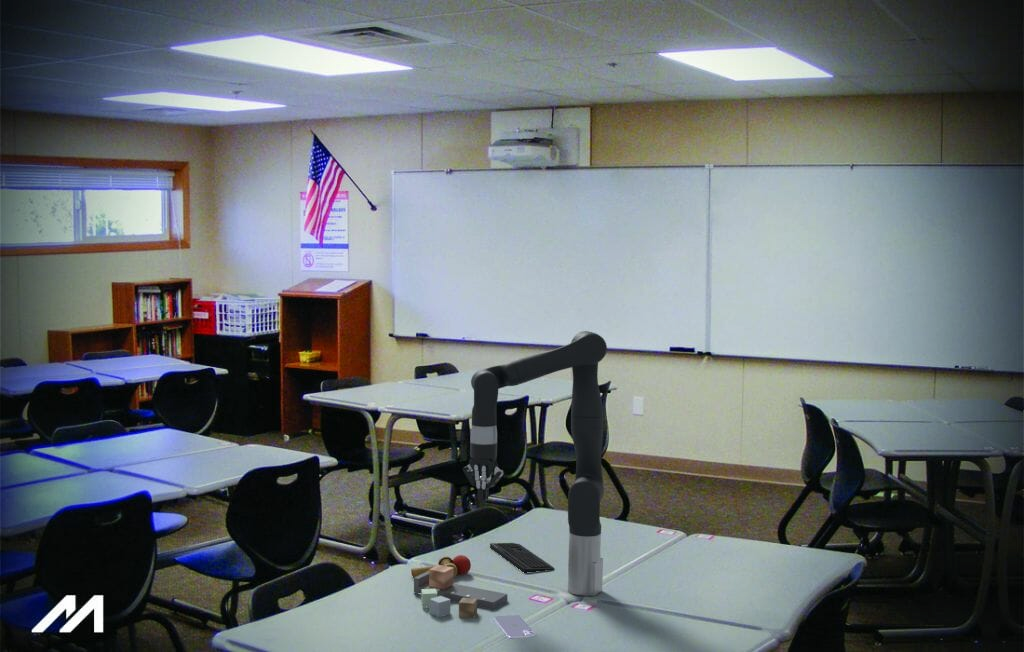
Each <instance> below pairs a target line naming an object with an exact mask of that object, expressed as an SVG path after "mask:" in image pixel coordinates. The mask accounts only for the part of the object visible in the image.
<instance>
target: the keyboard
mask: <svg viewBox="0 0 1024 652" xmlns="http://www.w3.org/2000/svg"><path fill="white" fill-rule="evenodd" d="M490 548H491V549H490ZM489 549H490V550H492V549H493V550H494V551H495V552H494V551H493V550H492V551H493V552H494V553H496V552H497V553H498V554H497V553H496V554H497V555H498V556H500V555H501V556H502V557H501V556H500V557H501V558H503V559H504V558H505V559H506V560H505V559H504V560H505V561H506V562H508V561H509V562H510V563H509V562H508V563H509V564H511V563H512V564H513V565H514V566H513V565H512V564H511V565H512V566H513V567H515V566H516V567H517V568H518V569H517V568H516V567H515V568H516V569H517V570H519V569H520V570H521V571H522V572H521V571H520V570H519V571H520V572H521V573H523V572H524V573H523V574H525V573H527V572H536V571H545V570H553V569H554V570H555V568H554V566H552V565H551V564H550V563H548V562H547V561H545V560H544V559H542V558H540V557H539V556H538V555H537V554H535V553H533V552H532V551H531V550H529V549H528V548H526V547H525V546H524V545H522V544H520V543H515V542H496V543H495V542H493V543H491V542H490V544H489ZM554 570H553V571H554ZM545 572H546V571H545ZM536 573H537V572H536ZM527 574H528V573H527Z"/></svg>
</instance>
